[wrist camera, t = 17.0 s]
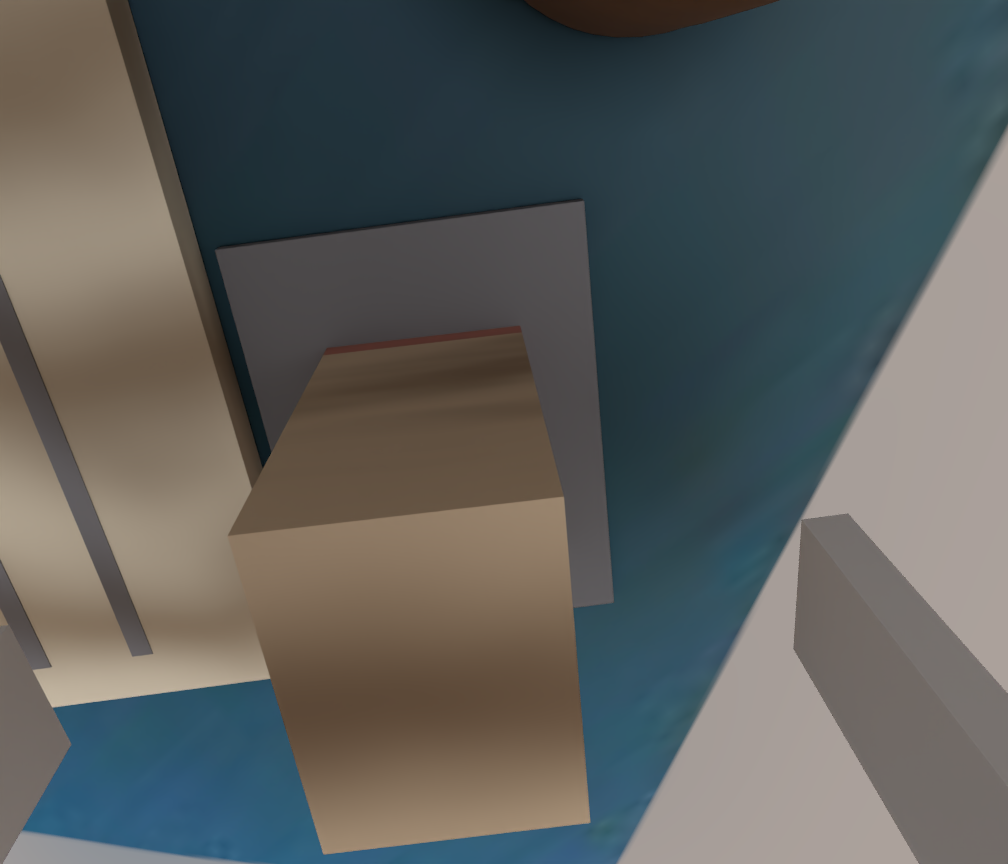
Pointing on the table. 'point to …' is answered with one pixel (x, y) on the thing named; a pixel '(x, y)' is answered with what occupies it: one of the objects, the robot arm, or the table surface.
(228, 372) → the board
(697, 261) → the table surface
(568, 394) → the mat
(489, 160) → the table surface
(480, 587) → the block
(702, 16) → the mug
